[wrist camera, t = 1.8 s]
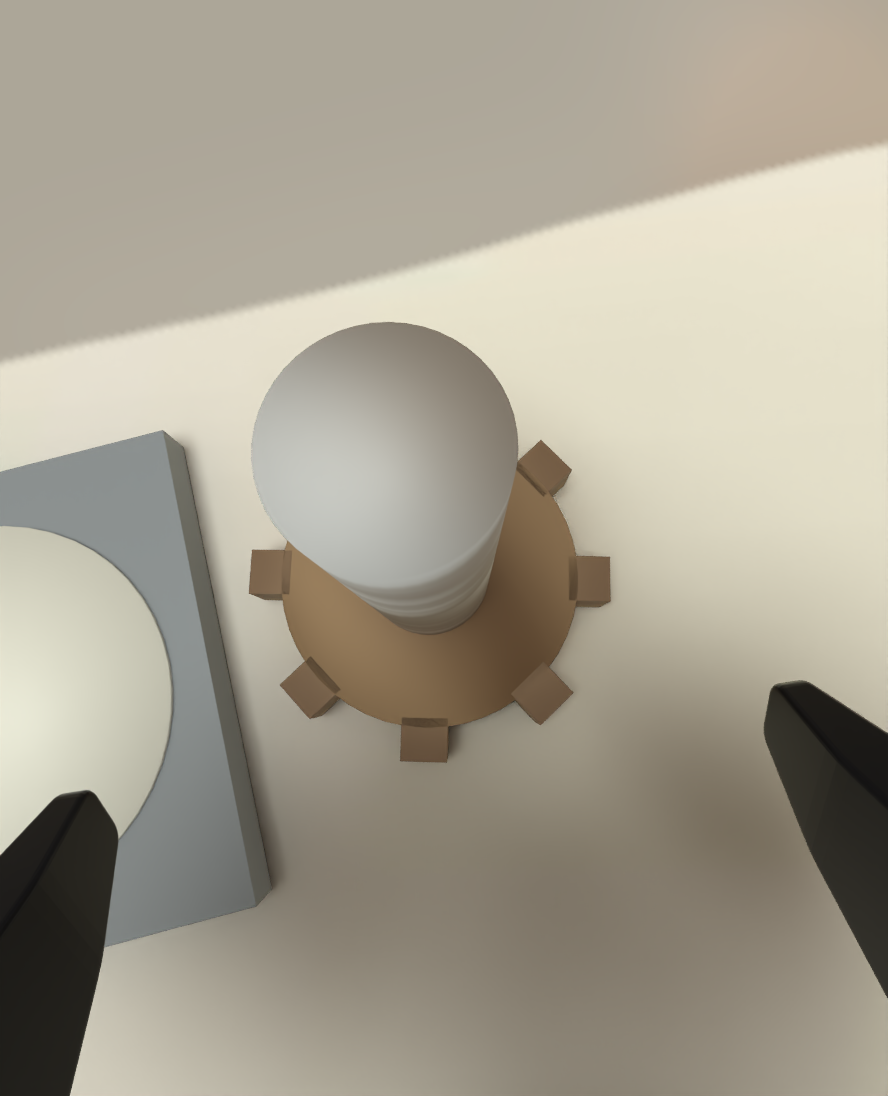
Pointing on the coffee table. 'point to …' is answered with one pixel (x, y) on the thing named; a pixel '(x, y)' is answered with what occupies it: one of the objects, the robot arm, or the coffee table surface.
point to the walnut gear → (414, 536)
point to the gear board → (124, 681)
